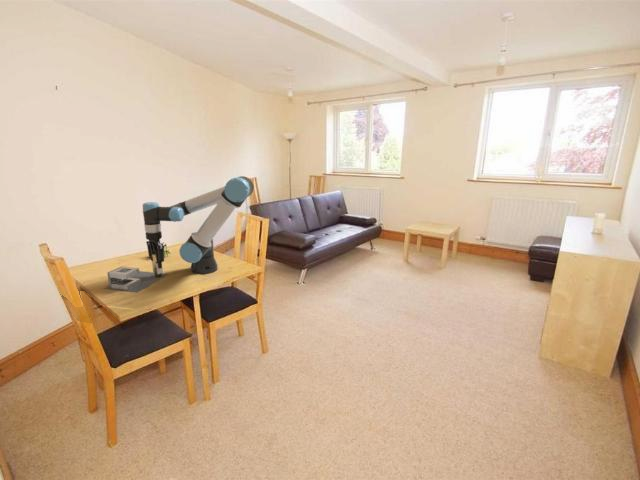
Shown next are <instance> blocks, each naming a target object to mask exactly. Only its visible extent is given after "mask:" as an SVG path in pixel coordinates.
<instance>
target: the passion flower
mask: <svg viewBox="0 0 640 480" xmlns="http://www.w3.org/2000/svg"><path fill="white" fill-rule="evenodd" d="M160 244H161V245H164V248H163V252H164V257H166V255H167V256H169V255H168V254H171V252H170V251H169V250H170V249H167V244H166V243H164V241H163V242H160ZM157 249H158V248H157Z"/></svg>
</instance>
